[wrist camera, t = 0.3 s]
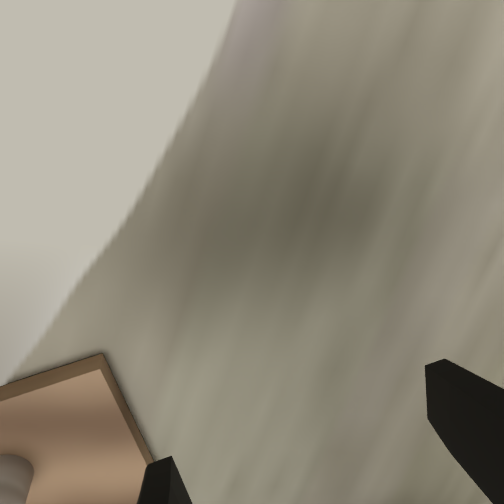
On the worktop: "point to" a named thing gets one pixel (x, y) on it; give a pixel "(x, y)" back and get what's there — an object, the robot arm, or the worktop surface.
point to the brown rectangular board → (69, 439)
